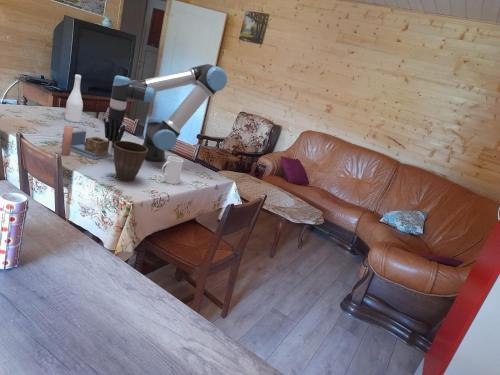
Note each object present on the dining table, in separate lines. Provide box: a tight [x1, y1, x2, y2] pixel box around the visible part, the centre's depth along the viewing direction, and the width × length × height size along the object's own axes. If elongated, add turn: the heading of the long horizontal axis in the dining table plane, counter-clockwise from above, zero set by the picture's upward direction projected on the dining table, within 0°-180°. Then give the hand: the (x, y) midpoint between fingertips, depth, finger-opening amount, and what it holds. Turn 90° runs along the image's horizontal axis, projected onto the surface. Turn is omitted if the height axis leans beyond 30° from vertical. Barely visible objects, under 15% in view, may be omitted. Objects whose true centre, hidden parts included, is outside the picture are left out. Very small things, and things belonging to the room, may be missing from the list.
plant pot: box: [113, 140, 148, 182], centre depth 161 cm, size 15×15×16 cm
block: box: [84, 136, 109, 156], centre depth 180 cm, size 8×8×7 cm
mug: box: [161, 155, 185, 185], centre depth 174 cm, size 12×8×12 cm
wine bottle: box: [64, 74, 84, 123], centre depth 226 cm, size 10×10×30 cm
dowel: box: [61, 125, 74, 157], centre depth 169 cm, size 4×4×14 cm
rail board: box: [61, 130, 114, 161], centre depth 181 cm, size 20×14×8 cm
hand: (110, 153), depth 179 cm, fingers closed
